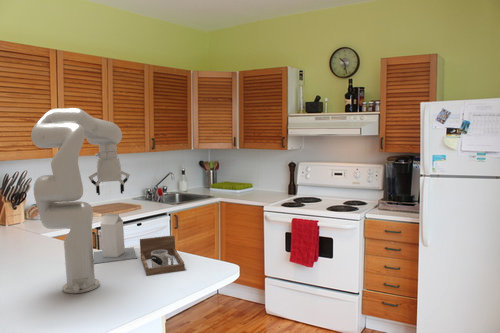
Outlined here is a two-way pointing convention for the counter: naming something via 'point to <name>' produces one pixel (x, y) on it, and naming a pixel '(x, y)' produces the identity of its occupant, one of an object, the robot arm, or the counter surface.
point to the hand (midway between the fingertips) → (110, 194)
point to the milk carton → (112, 235)
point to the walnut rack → (160, 244)
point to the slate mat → (125, 256)
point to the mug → (160, 258)
